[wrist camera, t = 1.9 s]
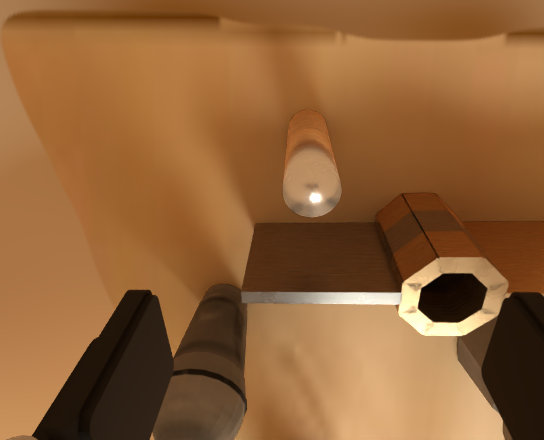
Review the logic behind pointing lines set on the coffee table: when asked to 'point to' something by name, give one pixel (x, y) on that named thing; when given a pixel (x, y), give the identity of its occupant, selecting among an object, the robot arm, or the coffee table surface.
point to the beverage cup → (208, 372)
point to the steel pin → (310, 167)
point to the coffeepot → (478, 359)
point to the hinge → (400, 264)
